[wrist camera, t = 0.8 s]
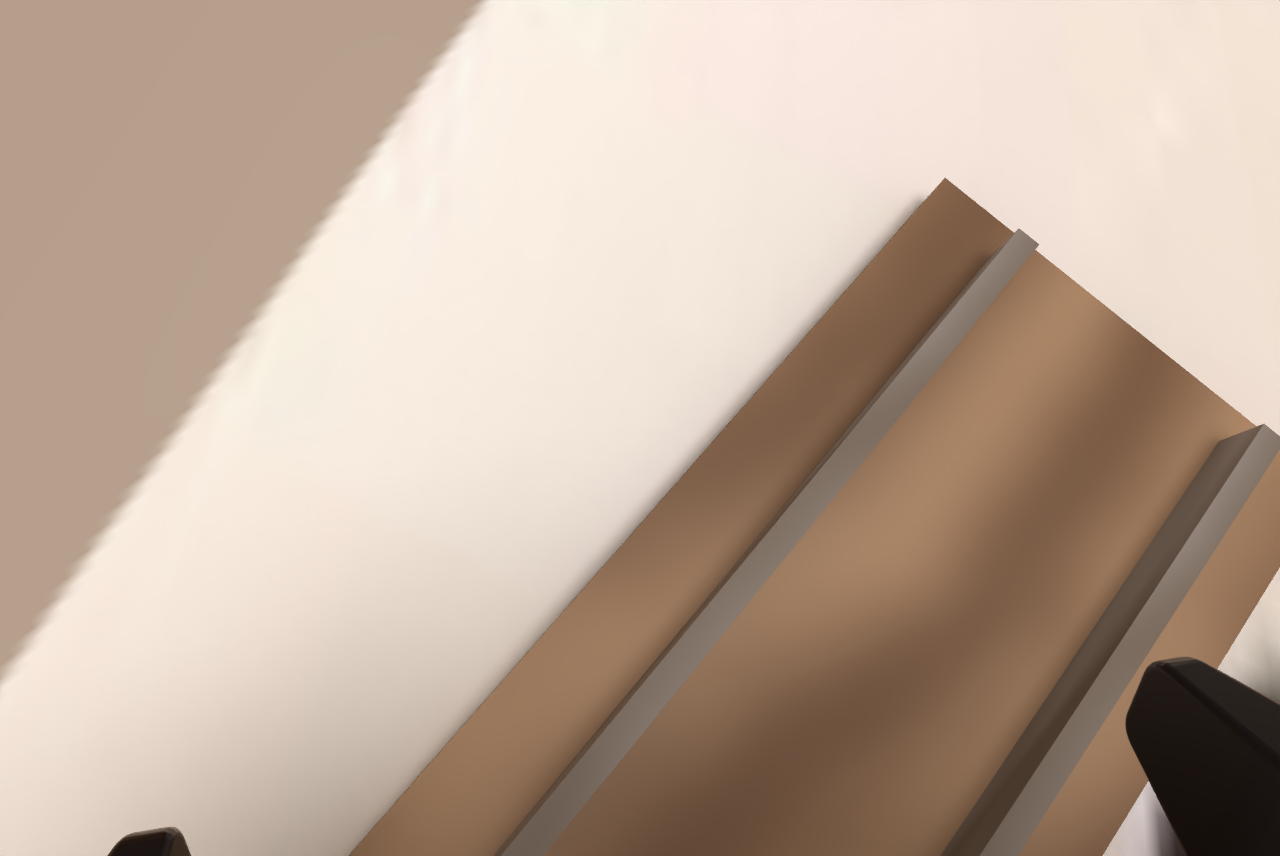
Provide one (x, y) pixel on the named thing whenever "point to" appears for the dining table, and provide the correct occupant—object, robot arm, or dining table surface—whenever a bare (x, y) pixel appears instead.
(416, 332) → the dining table surface
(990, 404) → the rail mount
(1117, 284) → the dining table surface
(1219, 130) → the dining table surface
